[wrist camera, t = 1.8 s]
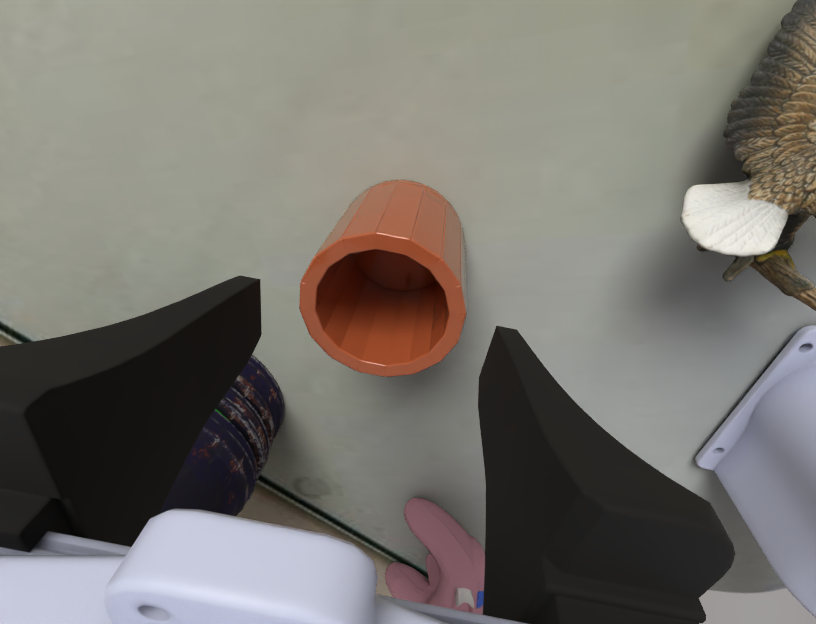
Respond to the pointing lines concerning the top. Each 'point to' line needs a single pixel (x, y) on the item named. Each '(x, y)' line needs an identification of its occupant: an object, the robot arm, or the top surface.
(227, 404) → the oil barrel
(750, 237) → the eagle figurine
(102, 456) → the robot arm
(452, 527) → the pink curved piece
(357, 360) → the pot
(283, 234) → the top surface
